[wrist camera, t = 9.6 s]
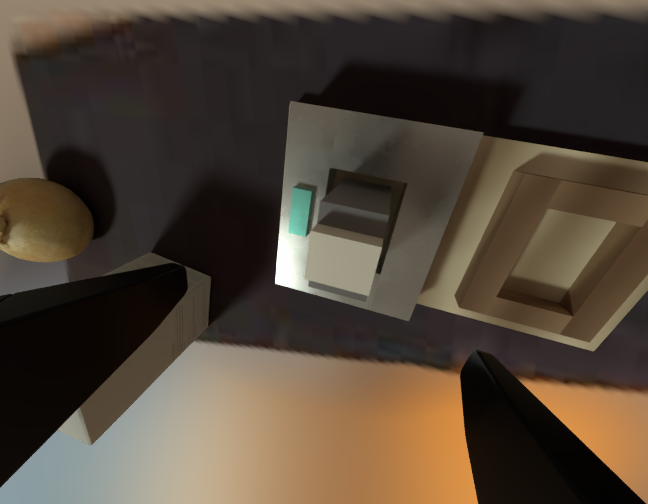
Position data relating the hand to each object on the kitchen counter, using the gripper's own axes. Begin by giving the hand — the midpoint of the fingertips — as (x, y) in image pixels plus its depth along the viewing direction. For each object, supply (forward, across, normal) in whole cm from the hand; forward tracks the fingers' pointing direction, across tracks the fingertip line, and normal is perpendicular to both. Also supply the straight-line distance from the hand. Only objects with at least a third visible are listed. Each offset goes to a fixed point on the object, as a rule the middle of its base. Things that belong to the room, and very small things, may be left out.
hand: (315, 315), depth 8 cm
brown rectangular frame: (+12, -12, 0) cm, 17 cm away
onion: (+13, +29, +7) cm, 32 cm away
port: (+13, 0, 0) cm, 13 cm away
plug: (+12, 0, 0) cm, 12 cm away
